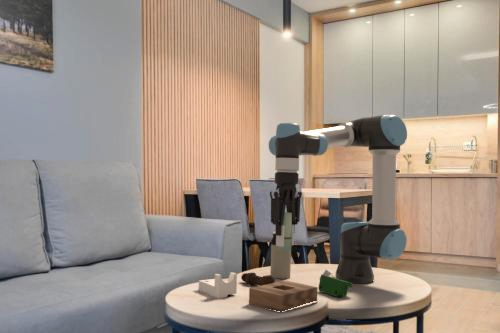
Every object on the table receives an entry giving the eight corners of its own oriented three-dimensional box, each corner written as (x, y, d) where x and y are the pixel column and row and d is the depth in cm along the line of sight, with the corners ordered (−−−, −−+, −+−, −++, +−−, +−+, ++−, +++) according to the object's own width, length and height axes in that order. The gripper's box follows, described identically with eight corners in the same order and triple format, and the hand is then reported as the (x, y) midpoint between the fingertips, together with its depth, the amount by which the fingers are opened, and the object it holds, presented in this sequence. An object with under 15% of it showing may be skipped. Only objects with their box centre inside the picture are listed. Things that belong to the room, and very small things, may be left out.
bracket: (236, 296, 161) (236, 273, 161) (218, 298, 157) (219, 275, 157) (215, 288, 171) (216, 267, 171) (198, 290, 167) (199, 268, 167)
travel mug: (290, 279, 189) (292, 233, 190) (270, 278, 189) (271, 233, 190) (289, 275, 197) (290, 231, 198) (270, 274, 197) (271, 231, 198)
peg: (283, 249, 155) (284, 212, 156) (293, 250, 152) (294, 212, 153) (275, 250, 152) (276, 212, 153) (285, 251, 149) (286, 213, 150)
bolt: (245, 286, 183) (270, 293, 171) (236, 281, 180) (260, 288, 168) (251, 272, 185) (276, 278, 173) (242, 267, 182) (267, 272, 170)
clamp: (345, 308, 165) (357, 286, 163) (331, 306, 162) (344, 283, 160) (328, 288, 175) (339, 267, 173) (315, 285, 172) (326, 264, 170)
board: (285, 295, 163) (286, 280, 163) (317, 302, 154) (317, 287, 154) (248, 304, 150) (249, 288, 150) (280, 313, 141) (281, 295, 141)
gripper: (294, 172, 162) (292, 242, 161) (259, 170, 150) (257, 246, 149) (312, 172, 157) (310, 244, 156) (278, 171, 144) (276, 249, 144)
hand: (284, 245), depth 152 cm, fingers closed on peg, 4 cm apart
